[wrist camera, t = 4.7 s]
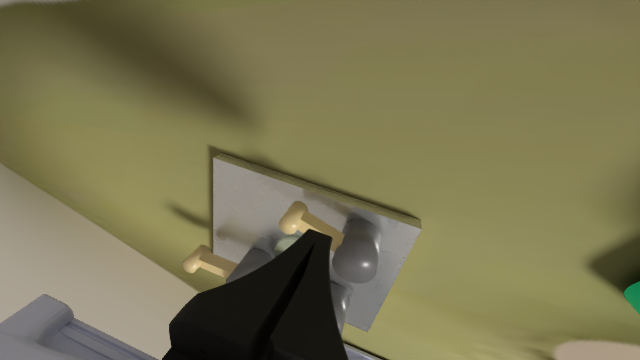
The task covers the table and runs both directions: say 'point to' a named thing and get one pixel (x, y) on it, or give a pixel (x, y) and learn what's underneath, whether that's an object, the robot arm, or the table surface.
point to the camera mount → (633, 296)
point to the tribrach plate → (264, 233)
